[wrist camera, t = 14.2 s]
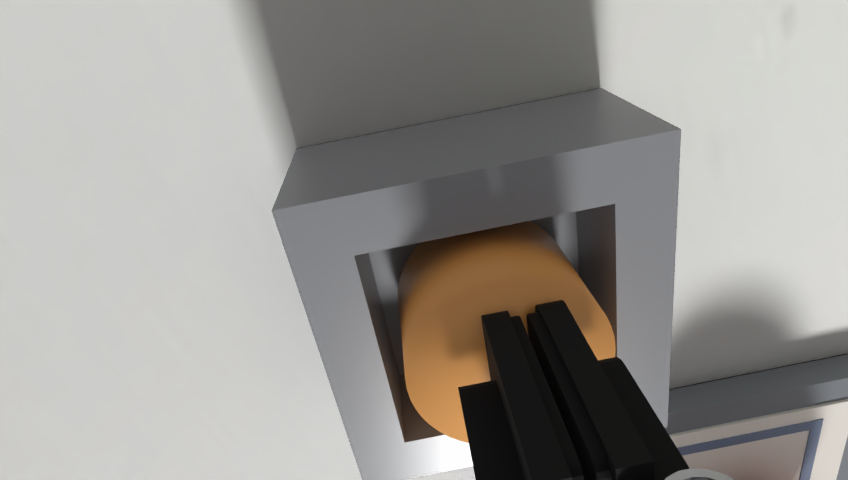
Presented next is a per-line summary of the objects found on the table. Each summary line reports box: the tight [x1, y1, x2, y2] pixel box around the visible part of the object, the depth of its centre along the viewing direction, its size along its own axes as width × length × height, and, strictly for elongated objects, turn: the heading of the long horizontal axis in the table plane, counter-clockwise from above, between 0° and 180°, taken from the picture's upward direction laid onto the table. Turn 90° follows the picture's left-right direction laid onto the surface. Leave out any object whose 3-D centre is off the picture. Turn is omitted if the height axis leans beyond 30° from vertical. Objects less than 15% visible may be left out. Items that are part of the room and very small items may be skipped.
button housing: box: [272, 88, 681, 480], centre depth 14 cm, size 8×8×4 cm
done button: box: [398, 221, 616, 443], centre depth 12 cm, size 4×4×3 cm
